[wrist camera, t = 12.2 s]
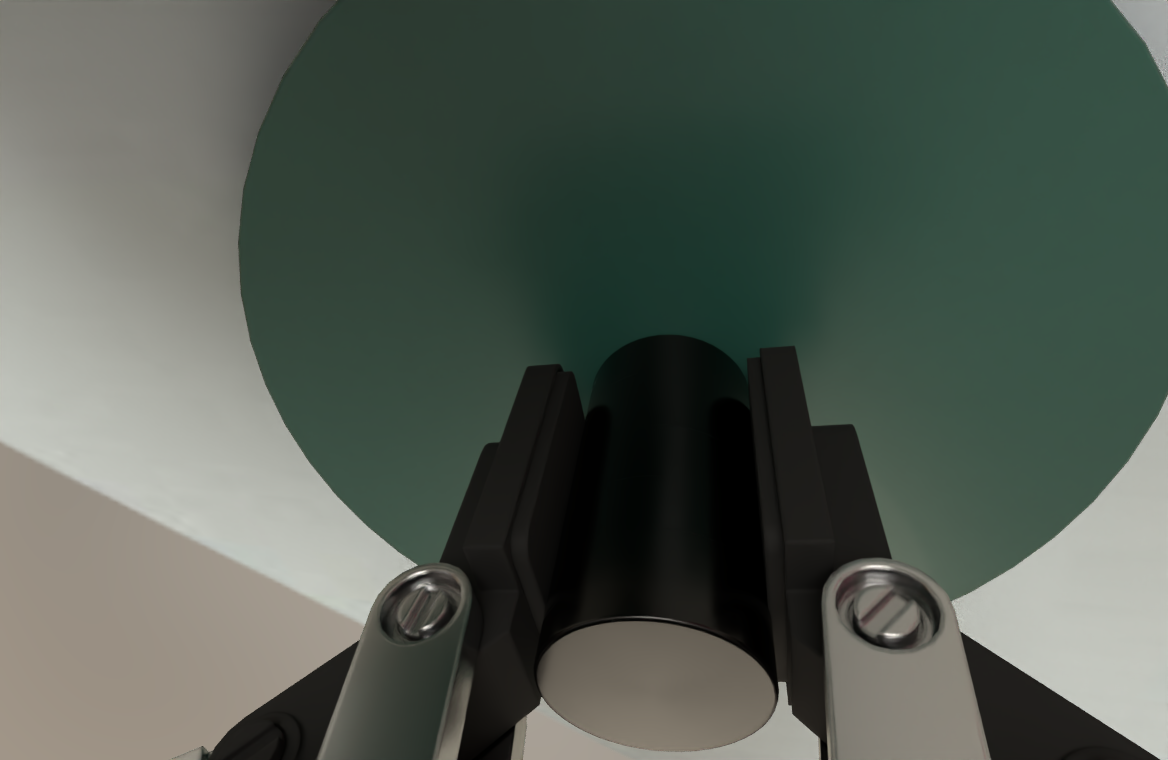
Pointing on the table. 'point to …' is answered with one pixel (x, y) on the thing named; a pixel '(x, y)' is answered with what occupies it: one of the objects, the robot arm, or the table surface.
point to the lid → (713, 291)
